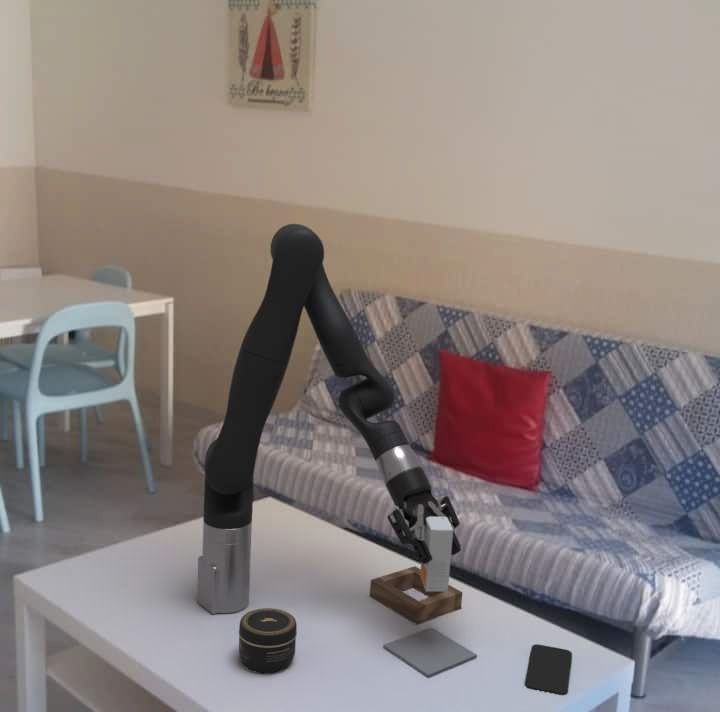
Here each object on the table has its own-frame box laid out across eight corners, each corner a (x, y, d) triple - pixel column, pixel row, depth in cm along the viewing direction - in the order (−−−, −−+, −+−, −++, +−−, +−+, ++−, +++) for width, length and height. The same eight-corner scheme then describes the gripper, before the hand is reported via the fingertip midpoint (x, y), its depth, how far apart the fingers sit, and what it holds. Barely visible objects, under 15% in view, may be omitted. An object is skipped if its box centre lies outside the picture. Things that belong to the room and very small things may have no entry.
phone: (523, 685, 165) (532, 643, 180) (523, 690, 166) (531, 647, 180) (567, 694, 164) (572, 650, 178) (567, 698, 164) (572, 654, 178)
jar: (228, 653, 171) (230, 613, 169) (279, 641, 176) (281, 602, 174) (252, 681, 162) (254, 640, 161) (305, 668, 167) (307, 627, 166)
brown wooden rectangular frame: (416, 624, 185) (417, 607, 184) (369, 595, 195) (370, 579, 194) (461, 608, 192) (462, 592, 191) (413, 581, 203) (414, 566, 202)
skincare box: (419, 576, 177) (424, 515, 175) (442, 577, 178) (447, 516, 175) (424, 592, 171) (430, 529, 169) (448, 592, 172) (454, 529, 169)
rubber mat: (428, 677, 167) (428, 674, 166) (383, 647, 176) (383, 644, 175) (476, 657, 174) (477, 654, 174) (431, 629, 183) (431, 626, 183)
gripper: (384, 472, 171) (425, 558, 165) (442, 459, 180) (482, 540, 174) (363, 491, 176) (402, 575, 170) (420, 477, 185) (458, 556, 179)
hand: (442, 557), depth 172 cm, fingers closed on skincare box, 6 cm apart
